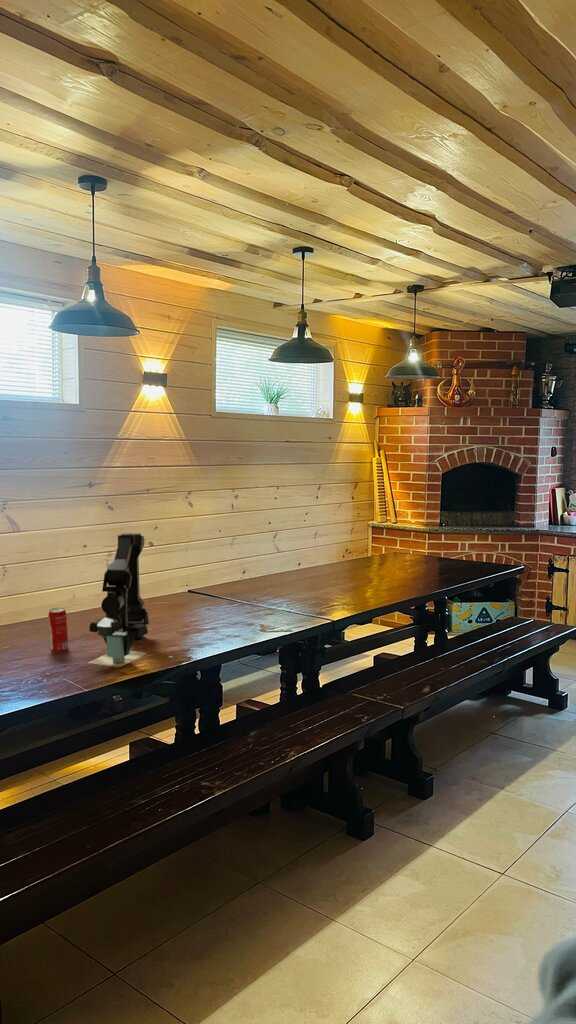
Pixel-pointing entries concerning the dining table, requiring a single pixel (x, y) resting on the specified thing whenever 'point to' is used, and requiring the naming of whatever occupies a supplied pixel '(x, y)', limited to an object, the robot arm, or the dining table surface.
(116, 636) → the teal rectangular block
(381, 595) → the dining table surface
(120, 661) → the post
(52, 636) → the beverage can
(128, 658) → the board
